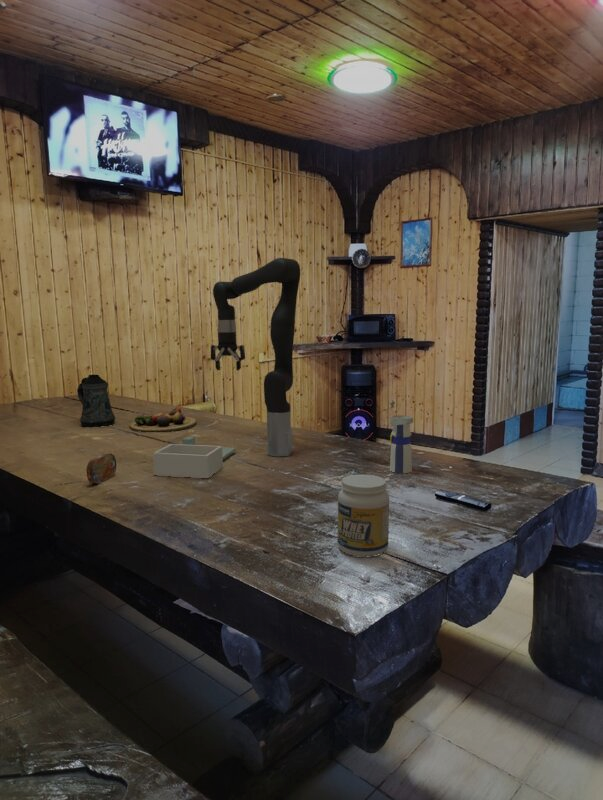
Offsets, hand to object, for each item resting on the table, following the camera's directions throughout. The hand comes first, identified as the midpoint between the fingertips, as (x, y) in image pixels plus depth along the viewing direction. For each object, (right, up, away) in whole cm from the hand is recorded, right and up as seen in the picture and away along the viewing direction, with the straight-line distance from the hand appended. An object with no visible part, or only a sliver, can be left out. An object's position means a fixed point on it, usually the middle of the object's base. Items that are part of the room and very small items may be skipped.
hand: (228, 370), depth 239 cm
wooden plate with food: (-38, -26, +45) cm, 64 cm away
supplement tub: (+45, -48, -102) cm, 121 cm away
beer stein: (-73, -25, +49) cm, 91 cm away
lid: (-7, -35, -15) cm, 38 cm away
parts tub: (-9, -38, -36) cm, 53 cm away
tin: (-37, -40, -45) cm, 70 cm away
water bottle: (+65, -38, -37) cm, 84 cm away
